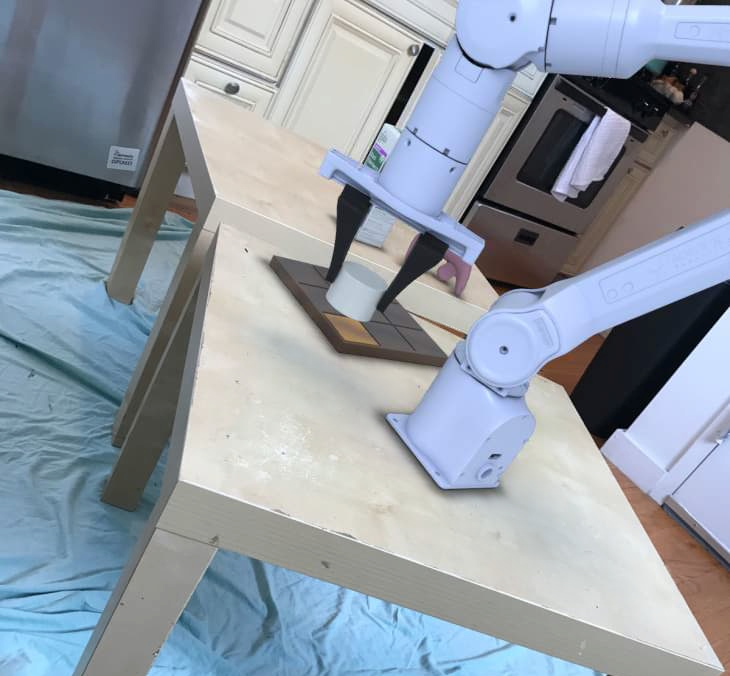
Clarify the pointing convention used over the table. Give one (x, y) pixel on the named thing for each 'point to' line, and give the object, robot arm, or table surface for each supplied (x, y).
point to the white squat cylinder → (356, 291)
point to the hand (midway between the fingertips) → (356, 293)
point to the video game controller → (450, 268)
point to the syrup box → (376, 219)
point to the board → (373, 338)
